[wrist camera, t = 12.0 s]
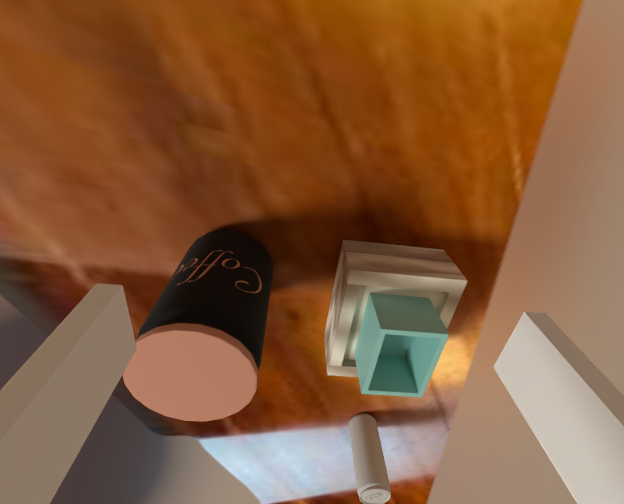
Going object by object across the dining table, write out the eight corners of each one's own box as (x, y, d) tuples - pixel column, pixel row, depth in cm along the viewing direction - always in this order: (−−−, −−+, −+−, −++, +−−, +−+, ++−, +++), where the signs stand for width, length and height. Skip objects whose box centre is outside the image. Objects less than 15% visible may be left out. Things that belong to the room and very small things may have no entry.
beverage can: (379, 424, 59) (396, 500, 49) (353, 431, 60) (365, 508, 50) (370, 408, 57) (386, 485, 47) (344, 416, 58) (353, 493, 48)
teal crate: (369, 292, 38) (380, 329, 32) (428, 297, 38) (449, 334, 33) (353, 353, 42) (361, 393, 37) (407, 356, 43) (421, 397, 38)
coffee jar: (281, 236, 41) (270, 344, 25) (264, 304, 46) (245, 429, 30) (192, 216, 39) (119, 318, 23) (185, 288, 44) (120, 412, 28)
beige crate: (342, 239, 41) (349, 269, 35) (443, 249, 42) (468, 280, 36) (323, 336, 49) (327, 375, 43) (409, 342, 50) (425, 381, 44)
